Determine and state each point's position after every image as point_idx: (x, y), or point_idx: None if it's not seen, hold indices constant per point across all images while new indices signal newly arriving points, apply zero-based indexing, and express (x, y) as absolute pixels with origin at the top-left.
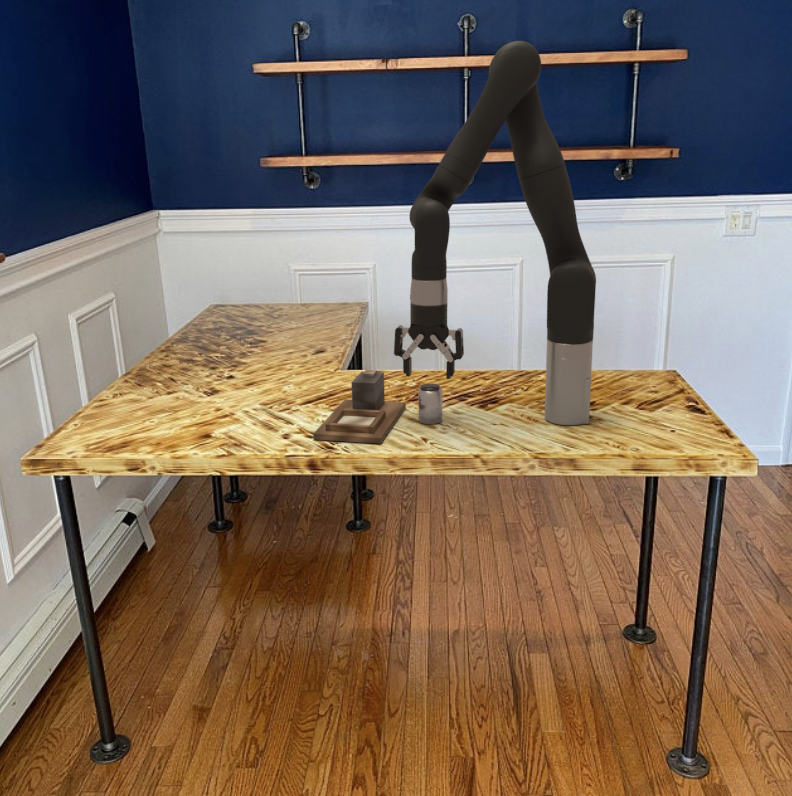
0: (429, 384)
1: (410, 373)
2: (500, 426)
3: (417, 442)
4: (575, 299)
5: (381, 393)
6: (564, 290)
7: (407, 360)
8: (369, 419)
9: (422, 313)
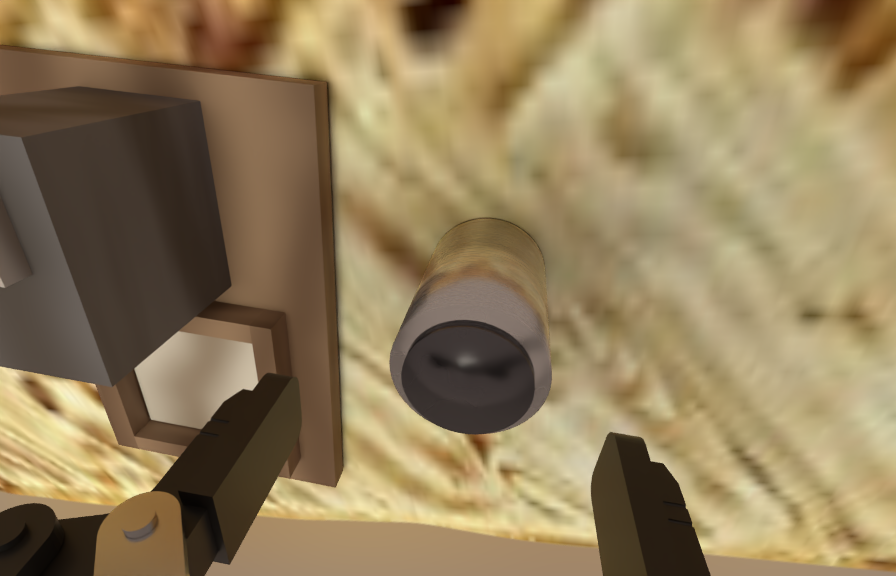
0: (457, 348)
1: (292, 412)
2: (833, 340)
3: (456, 461)
4: None
5: (159, 189)
6: None
7: (216, 558)
8: (233, 349)
9: None
